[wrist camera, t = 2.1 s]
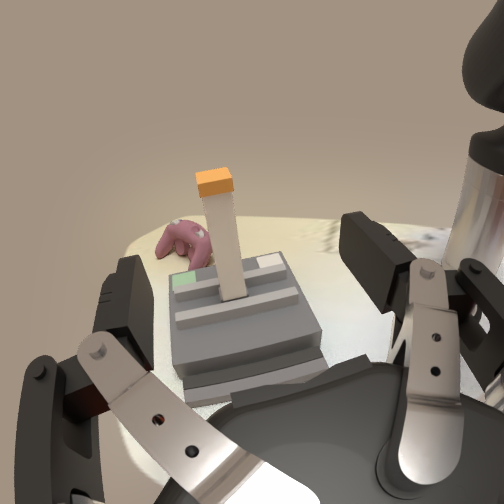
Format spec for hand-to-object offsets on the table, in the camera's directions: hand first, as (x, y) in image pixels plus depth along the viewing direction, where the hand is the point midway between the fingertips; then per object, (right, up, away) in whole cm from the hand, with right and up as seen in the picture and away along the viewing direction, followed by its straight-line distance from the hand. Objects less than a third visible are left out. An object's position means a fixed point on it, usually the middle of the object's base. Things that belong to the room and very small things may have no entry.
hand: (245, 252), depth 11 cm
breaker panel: (-1, -8, +23) cm, 25 cm away
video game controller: (-10, -1, +34) cm, 35 cm away
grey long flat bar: (+1, -13, +16) cm, 21 cm away
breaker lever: (-2, -5, +21) cm, 22 cm away
